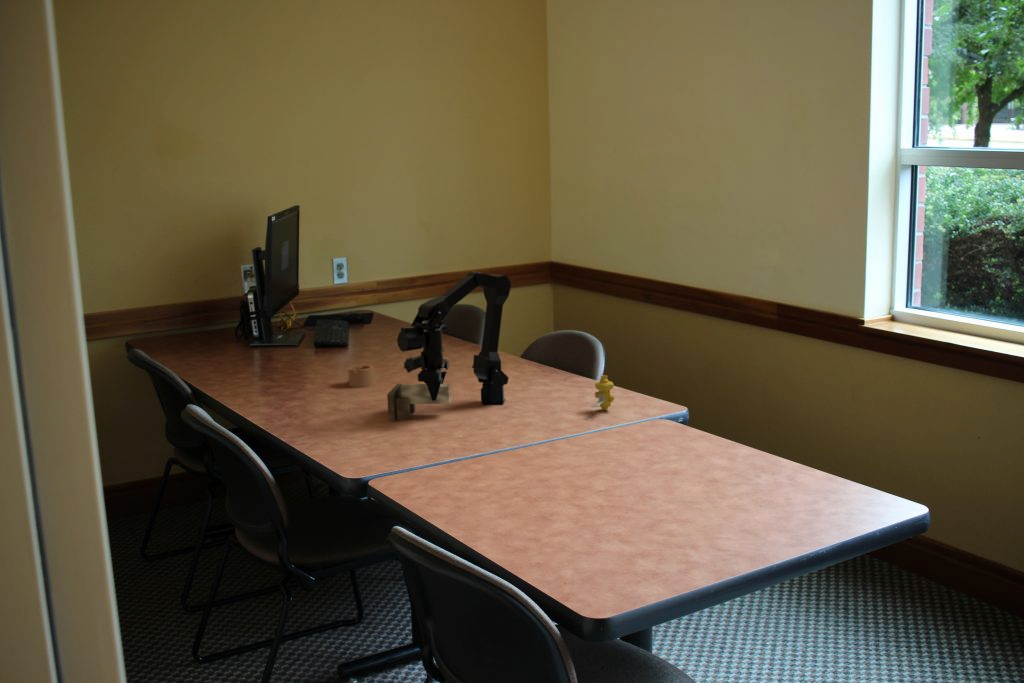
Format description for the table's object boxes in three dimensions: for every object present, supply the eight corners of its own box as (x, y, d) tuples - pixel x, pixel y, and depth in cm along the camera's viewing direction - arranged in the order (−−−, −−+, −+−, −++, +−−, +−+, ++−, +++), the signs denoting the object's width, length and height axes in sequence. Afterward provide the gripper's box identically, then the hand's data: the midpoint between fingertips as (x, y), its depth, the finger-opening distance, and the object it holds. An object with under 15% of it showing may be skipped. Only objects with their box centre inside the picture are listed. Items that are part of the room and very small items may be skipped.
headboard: (416, 409, 300) (415, 383, 298) (407, 421, 286) (406, 394, 285) (398, 409, 300) (397, 383, 299) (388, 421, 287) (387, 394, 285)
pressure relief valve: (616, 407, 294) (615, 374, 293) (602, 417, 284) (602, 383, 282) (598, 406, 297) (598, 373, 295) (584, 416, 286) (583, 381, 284)
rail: (451, 400, 293) (450, 383, 292) (449, 403, 289) (448, 386, 288) (401, 400, 295) (400, 384, 294) (398, 404, 291) (397, 387, 290)
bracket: (371, 390, 328) (370, 369, 327) (347, 390, 328) (345, 370, 327) (382, 378, 346) (381, 359, 344) (358, 379, 346) (357, 359, 345)
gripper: (411, 341, 299) (414, 391, 301) (398, 353, 280) (401, 407, 283) (448, 340, 297) (450, 391, 300) (437, 352, 279) (440, 406, 282)
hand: (435, 398), depth 291 cm, fingers closed on rail, 4 cm apart
